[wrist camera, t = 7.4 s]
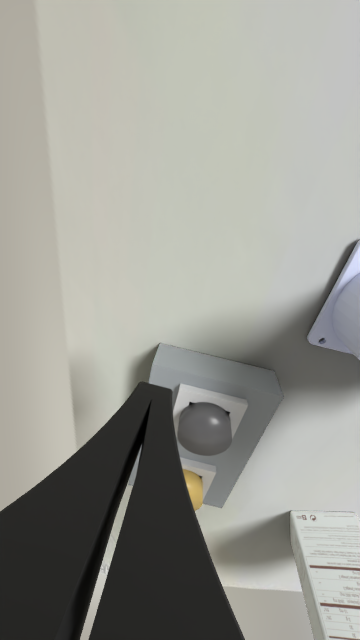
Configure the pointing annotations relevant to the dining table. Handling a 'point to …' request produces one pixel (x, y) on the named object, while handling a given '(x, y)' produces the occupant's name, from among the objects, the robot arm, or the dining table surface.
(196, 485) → the knob
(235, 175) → the dining table surface
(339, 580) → the supplement box
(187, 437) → the knob
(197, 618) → the robot arm
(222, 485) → the mount plate
